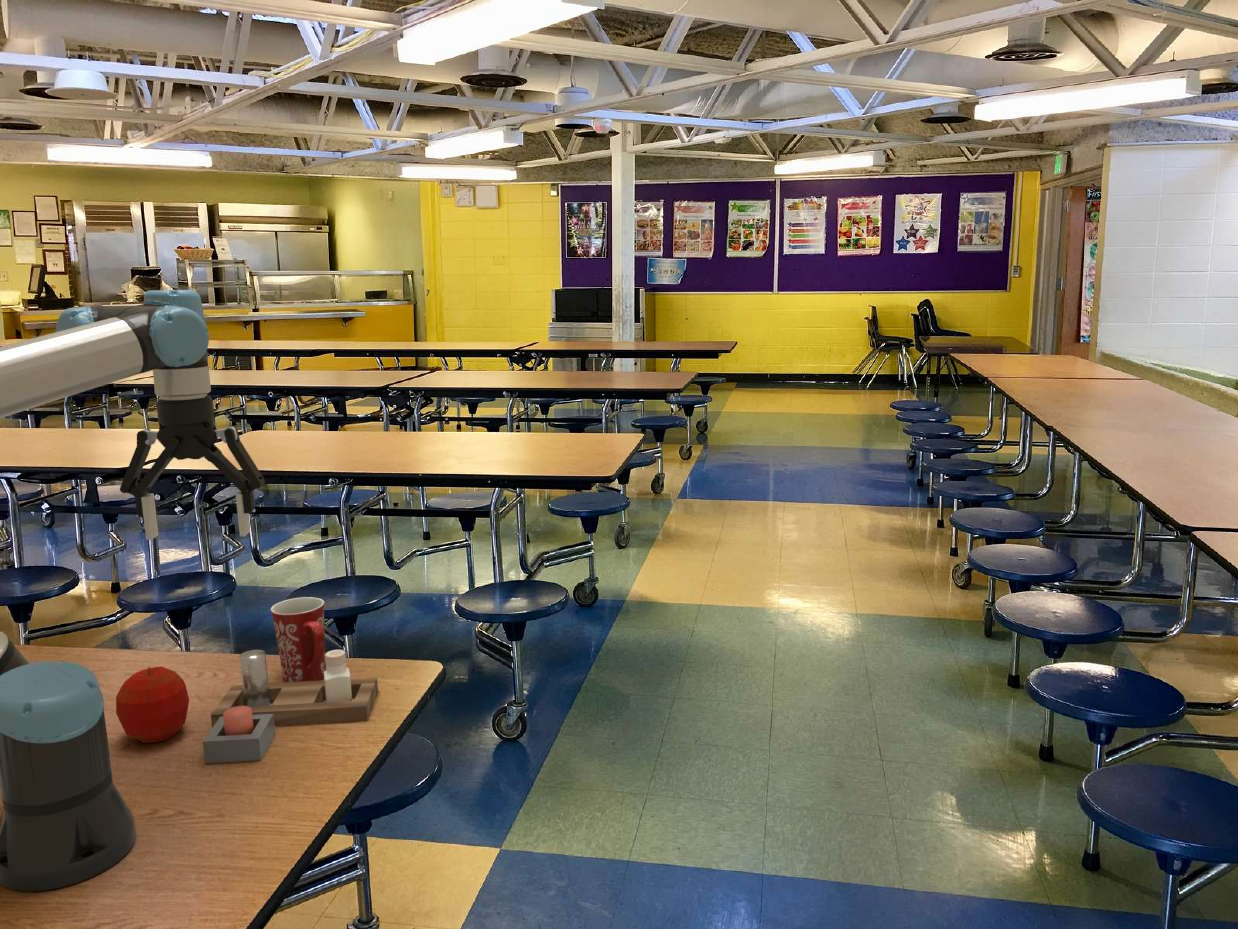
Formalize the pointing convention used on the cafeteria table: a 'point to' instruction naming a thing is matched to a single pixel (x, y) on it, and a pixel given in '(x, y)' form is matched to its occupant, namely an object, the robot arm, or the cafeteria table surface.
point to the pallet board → (306, 703)
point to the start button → (238, 721)
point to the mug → (300, 638)
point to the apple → (152, 704)
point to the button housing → (239, 741)
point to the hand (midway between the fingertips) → (199, 536)
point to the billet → (254, 678)
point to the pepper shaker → (337, 677)
